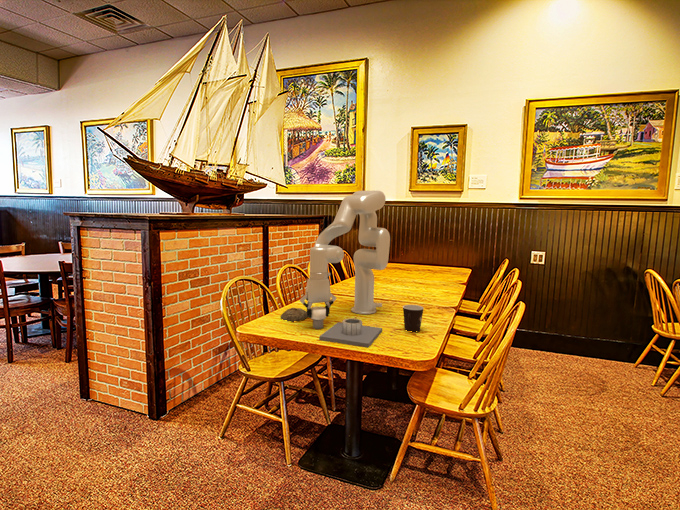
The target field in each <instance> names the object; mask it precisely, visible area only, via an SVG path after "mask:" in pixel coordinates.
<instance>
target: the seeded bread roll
mask: <svg viewBox="0 0 680 510" xmlns="http://www.w3.org/2000/svg"><path fill="white" fill-rule="evenodd" d="M307 317H308V316H307V310H305V309H302V308H299V307H290V308H287V309H286V310H285V311H284V312H282V314H281V315H280V320H282V319H283V321H285V320H287V321H286V322H289V321H292V322H291V323H295V322H294V321H298V322H300V320H301V321H303V319H304V320H306V319H307ZM305 318H306V319H305ZM308 318H309V317H308Z"/></svg>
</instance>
